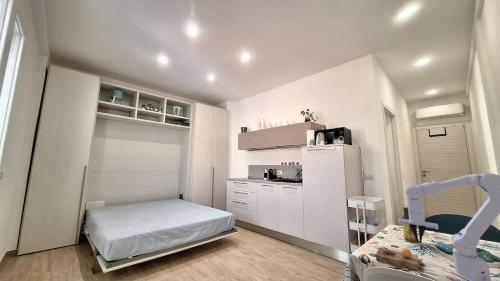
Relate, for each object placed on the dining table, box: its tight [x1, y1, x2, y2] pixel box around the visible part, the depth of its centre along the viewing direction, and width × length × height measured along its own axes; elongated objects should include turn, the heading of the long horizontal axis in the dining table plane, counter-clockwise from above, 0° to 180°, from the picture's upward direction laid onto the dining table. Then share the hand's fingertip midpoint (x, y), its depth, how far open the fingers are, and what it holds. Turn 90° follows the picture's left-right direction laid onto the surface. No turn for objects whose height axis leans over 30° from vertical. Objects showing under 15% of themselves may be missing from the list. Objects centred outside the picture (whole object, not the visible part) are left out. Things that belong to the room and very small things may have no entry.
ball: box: [400, 247, 413, 257], centre depth 96 cm, size 4×4×4 cm
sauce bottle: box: [401, 206, 417, 243], centre depth 125 cm, size 7×6×20 cm
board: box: [375, 247, 419, 271], centre depth 99 cm, size 16×12×2 cm
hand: (419, 242), depth 94 cm, fingers closed
